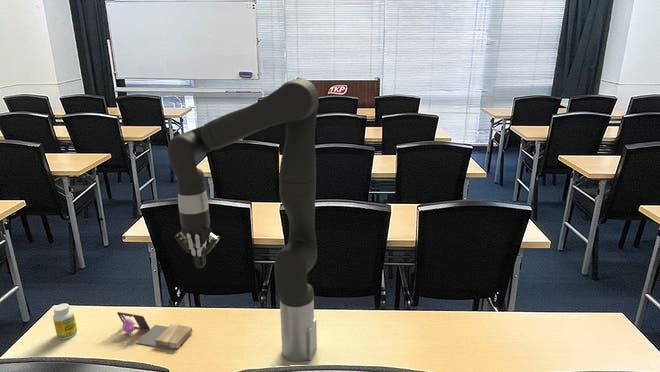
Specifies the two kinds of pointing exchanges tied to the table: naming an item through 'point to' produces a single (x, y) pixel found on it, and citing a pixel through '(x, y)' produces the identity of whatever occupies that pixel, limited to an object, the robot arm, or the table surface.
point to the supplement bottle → (64, 321)
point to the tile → (174, 336)
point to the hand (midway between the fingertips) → (200, 266)
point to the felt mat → (153, 337)
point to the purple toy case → (129, 324)
